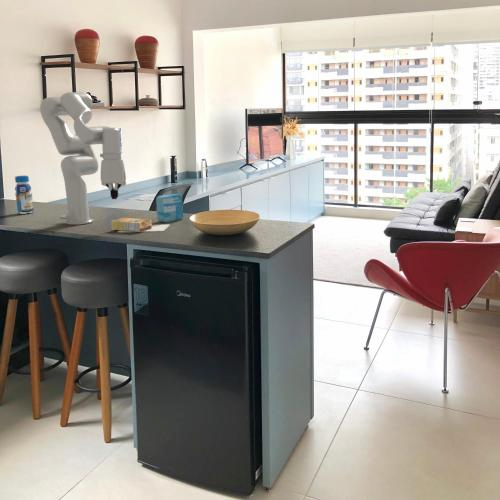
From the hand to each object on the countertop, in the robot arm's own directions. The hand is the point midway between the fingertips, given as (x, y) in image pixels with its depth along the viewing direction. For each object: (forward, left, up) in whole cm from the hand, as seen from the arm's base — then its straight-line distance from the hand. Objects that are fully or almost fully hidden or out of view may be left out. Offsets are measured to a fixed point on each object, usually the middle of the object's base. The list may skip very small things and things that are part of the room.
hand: (114, 198), depth 260 cm
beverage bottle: (-64, +52, -14) cm, 84 cm away
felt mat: (+13, -1, -14) cm, 18 cm away
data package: (+21, +18, -14) cm, 31 cm away
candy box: (0, -1, -11) cm, 11 cm away
